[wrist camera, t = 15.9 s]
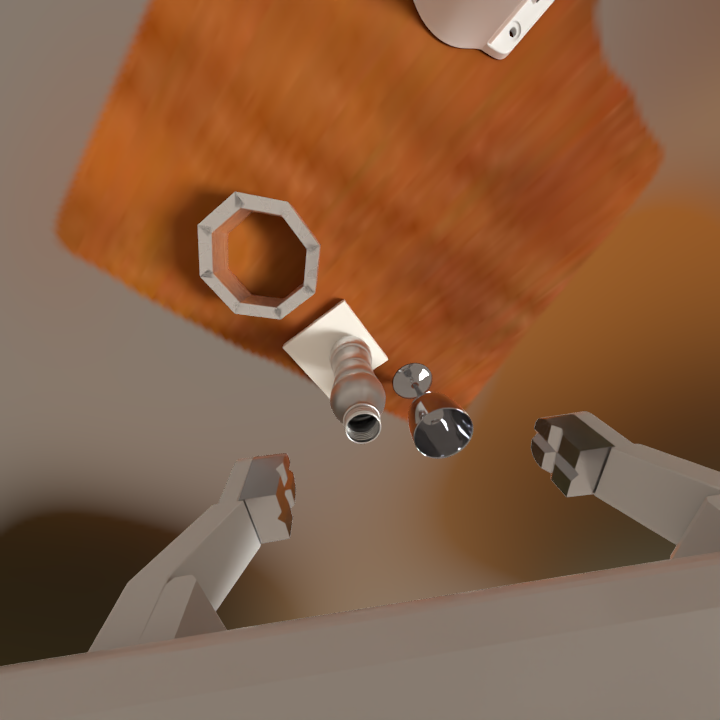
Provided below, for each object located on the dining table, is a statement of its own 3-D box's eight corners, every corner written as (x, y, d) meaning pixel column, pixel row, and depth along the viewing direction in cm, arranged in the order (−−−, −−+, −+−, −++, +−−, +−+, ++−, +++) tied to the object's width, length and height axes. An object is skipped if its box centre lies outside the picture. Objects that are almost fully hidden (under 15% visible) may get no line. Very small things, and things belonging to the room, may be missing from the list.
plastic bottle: (372, 333, 45) (401, 399, 27) (366, 372, 48) (390, 457, 29) (331, 330, 44) (332, 396, 26) (327, 369, 47) (326, 455, 29)
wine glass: (381, 388, 51) (401, 443, 37) (409, 352, 49) (440, 398, 35) (415, 407, 53) (446, 466, 40) (443, 374, 51) (485, 425, 37)
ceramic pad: (343, 299, 44) (344, 300, 43) (386, 356, 49) (388, 359, 47) (283, 344, 46) (282, 347, 45) (330, 395, 50) (330, 399, 49)
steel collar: (272, 177, 37) (262, 167, 32) (338, 269, 42) (339, 273, 37) (194, 245, 39) (172, 247, 34) (266, 324, 44) (257, 337, 39)
